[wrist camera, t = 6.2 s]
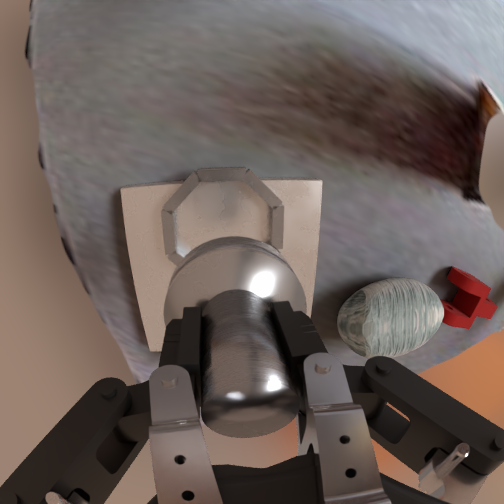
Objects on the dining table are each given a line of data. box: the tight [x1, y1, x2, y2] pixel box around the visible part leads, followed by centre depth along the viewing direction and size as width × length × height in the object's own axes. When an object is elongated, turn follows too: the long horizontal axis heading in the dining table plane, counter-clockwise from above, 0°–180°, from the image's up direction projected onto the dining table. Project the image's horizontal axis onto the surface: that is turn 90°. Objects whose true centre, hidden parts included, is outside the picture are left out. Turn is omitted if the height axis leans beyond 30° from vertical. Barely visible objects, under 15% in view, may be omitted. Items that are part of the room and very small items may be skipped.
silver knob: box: [163, 236, 307, 438], centre depth 11 cm, size 6×6×7 cm
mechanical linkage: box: [440, 266, 497, 329], centre depth 34 cm, size 16×7×5 cm, turn 71°
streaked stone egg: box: [337, 277, 444, 358], centre depth 30 cm, size 14×10×10 cm
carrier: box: [121, 167, 322, 351], centre depth 26 cm, size 21×18×6 cm
